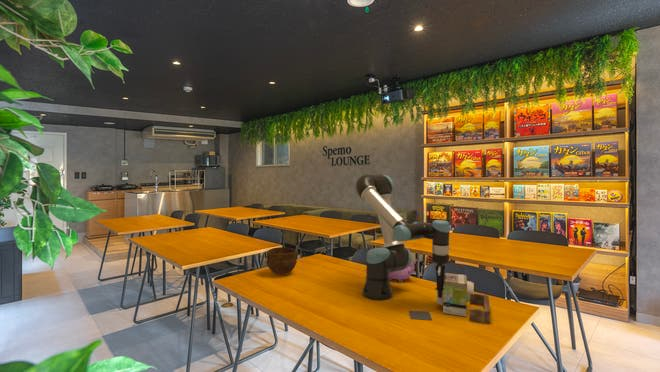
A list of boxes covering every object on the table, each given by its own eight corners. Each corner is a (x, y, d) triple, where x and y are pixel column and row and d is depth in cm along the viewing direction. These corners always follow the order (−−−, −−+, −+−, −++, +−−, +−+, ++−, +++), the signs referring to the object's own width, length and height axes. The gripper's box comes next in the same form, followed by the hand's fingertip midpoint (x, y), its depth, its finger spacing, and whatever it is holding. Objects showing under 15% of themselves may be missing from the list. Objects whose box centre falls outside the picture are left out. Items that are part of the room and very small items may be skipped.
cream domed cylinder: (458, 299, 169) (458, 283, 169) (458, 295, 175) (459, 279, 175) (473, 301, 166) (473, 285, 166) (473, 297, 172) (473, 281, 172)
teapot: (422, 279, 201) (422, 256, 200) (411, 286, 188) (412, 261, 188) (388, 272, 214) (389, 251, 213) (376, 278, 201) (377, 256, 201)
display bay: (469, 320, 144) (469, 309, 144) (470, 302, 164) (470, 292, 164) (489, 324, 141) (490, 312, 141) (488, 305, 161) (488, 295, 161)
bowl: (295, 278, 200) (295, 253, 200) (263, 278, 201) (263, 253, 200) (298, 269, 219) (298, 246, 219) (269, 269, 219) (269, 246, 219)
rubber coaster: (410, 320, 145) (410, 318, 145) (408, 312, 154) (408, 310, 154) (432, 321, 144) (432, 319, 144) (428, 313, 153) (428, 311, 153)
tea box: (467, 317, 148) (467, 283, 147) (442, 313, 151) (443, 281, 151) (465, 304, 162) (466, 274, 161) (443, 301, 165) (444, 272, 165)
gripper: (447, 257, 151) (447, 309, 152) (450, 251, 163) (449, 300, 164) (430, 255, 154) (429, 307, 155) (433, 250, 166) (433, 297, 167)
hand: (440, 303), depth 159 cm, fingers closed
